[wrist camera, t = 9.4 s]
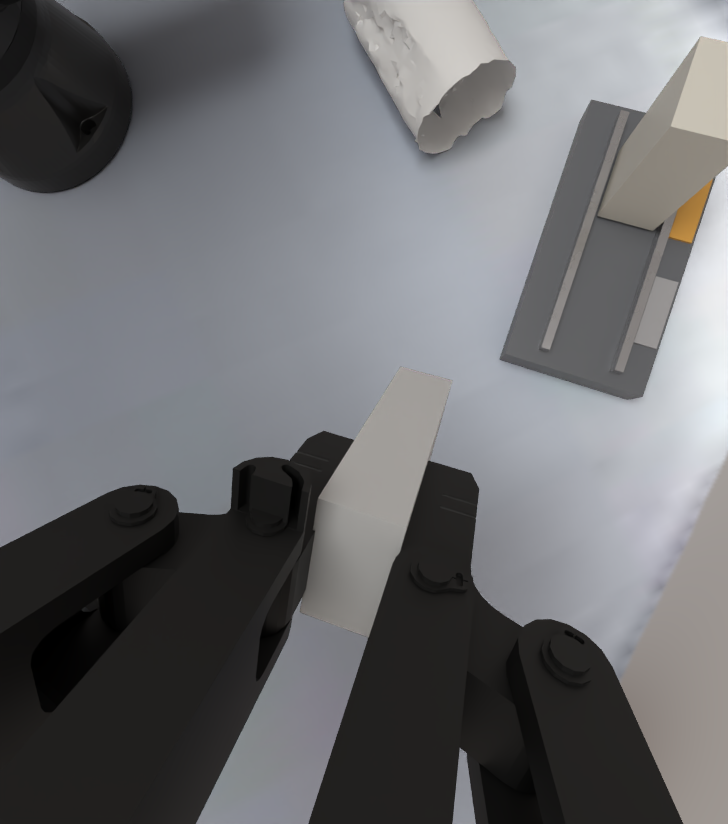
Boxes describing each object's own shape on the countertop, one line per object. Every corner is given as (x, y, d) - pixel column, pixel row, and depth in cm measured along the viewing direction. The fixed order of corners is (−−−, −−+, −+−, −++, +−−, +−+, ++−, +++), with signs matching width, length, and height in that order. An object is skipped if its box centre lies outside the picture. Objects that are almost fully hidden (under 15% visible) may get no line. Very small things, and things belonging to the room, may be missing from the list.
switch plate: (626, 399, 36) (649, 395, 33) (499, 359, 38) (508, 351, 34) (708, 153, 37) (739, 124, 33) (579, 121, 38) (596, 89, 34)
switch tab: (652, 230, 34) (750, 146, 24) (597, 215, 35) (670, 126, 25) (674, 165, 34) (781, 54, 24) (618, 151, 35) (700, 36, 25)
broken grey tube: (398, -60, 40) (395, -181, 33) (506, 123, 39) (529, 41, 31) (316, -11, 41) (293, -119, 33) (418, 172, 39) (419, 104, 31)
